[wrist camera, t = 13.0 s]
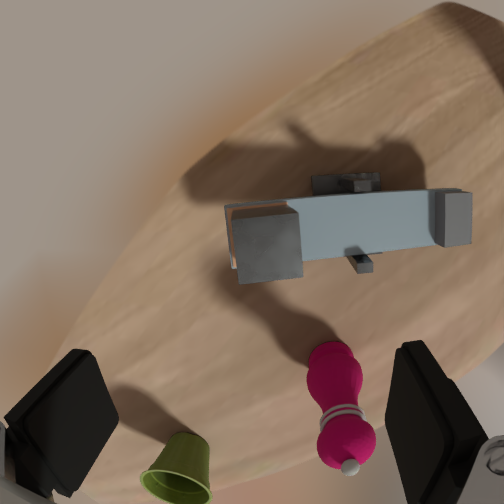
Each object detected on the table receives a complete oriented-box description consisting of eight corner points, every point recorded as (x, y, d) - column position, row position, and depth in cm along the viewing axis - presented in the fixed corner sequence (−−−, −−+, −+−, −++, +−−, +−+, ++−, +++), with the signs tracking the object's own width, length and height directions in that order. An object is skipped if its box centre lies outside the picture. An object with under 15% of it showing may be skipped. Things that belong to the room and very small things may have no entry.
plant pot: (202, 470, 51) (189, 513, 41) (149, 440, 51) (129, 483, 40) (236, 445, 48) (226, 495, 38) (178, 412, 47) (157, 460, 37)
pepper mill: (314, 333, 41) (329, 448, 22) (363, 342, 41) (403, 451, 22) (298, 375, 43) (301, 490, 24) (345, 383, 43) (368, 493, 24)
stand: (377, 172, 35) (402, 174, 27) (379, 251, 37) (402, 273, 29) (311, 175, 36) (318, 178, 28) (316, 256, 38) (324, 280, 30)
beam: (454, 188, 31) (472, 190, 28) (453, 238, 33) (471, 245, 29) (225, 204, 31) (223, 208, 27) (232, 264, 32) (231, 275, 29)
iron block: (287, 204, 29) (298, 212, 24) (291, 256, 31) (303, 277, 25) (232, 210, 29) (230, 220, 23) (239, 262, 31) (238, 284, 25)
